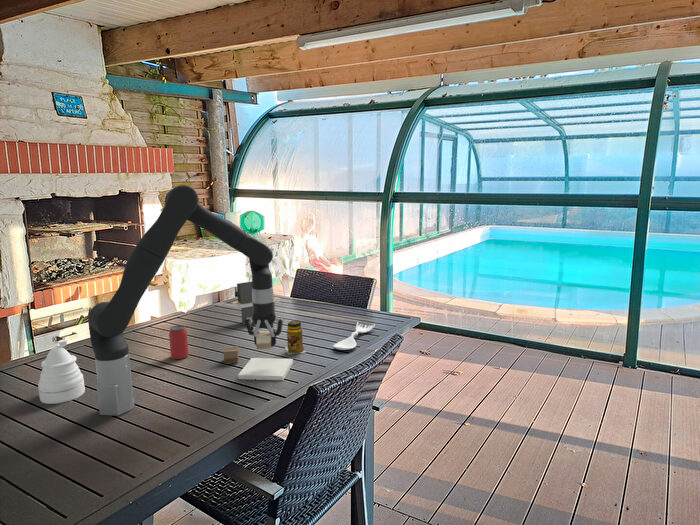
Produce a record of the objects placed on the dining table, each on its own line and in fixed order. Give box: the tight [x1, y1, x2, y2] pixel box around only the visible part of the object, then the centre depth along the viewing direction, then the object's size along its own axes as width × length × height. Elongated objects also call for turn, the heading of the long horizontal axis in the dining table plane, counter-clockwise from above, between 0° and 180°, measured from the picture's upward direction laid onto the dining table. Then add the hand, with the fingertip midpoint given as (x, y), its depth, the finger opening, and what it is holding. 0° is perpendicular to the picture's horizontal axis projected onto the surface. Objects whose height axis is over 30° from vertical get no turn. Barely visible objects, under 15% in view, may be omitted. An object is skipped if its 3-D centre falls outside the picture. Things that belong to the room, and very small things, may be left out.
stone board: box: [237, 357, 294, 381], centre depth 178 cm, size 16×16×2 cm
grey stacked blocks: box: [232, 281, 280, 326], centre depth 237 cm, size 38×25×20 cm, turn 125°
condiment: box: [284, 320, 307, 356], centre depth 197 cm, size 7×8×12 cm
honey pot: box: [37, 339, 86, 405], centre depth 160 cm, size 13×13×18 cm
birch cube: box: [256, 330, 273, 350], centre depth 176 cm, size 5×5×5 cm
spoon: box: [332, 322, 376, 351], centre depth 209 cm, size 9×32×4 cm, turn 159°
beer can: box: [168, 325, 190, 360], centre depth 192 cm, size 7×7×12 cm
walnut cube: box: [223, 345, 240, 365], centre depth 188 cm, size 5×5×5 cm
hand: (265, 345), depth 177 cm, fingers closed on birch cube, 5 cm apart
